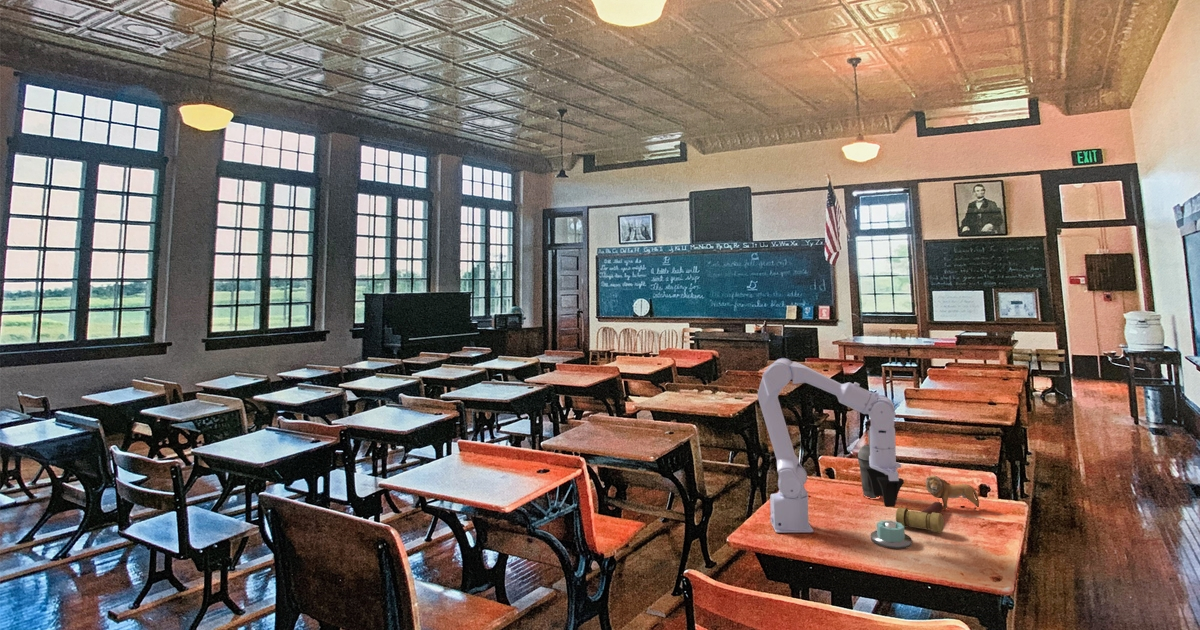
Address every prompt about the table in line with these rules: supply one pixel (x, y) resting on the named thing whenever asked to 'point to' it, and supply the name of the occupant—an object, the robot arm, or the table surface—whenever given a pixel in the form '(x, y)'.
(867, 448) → the beverage cup
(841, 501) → the table surface
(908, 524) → the gavel
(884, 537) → the ring
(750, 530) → the table surface
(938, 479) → the lion figurine
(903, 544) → the grey peg stand
